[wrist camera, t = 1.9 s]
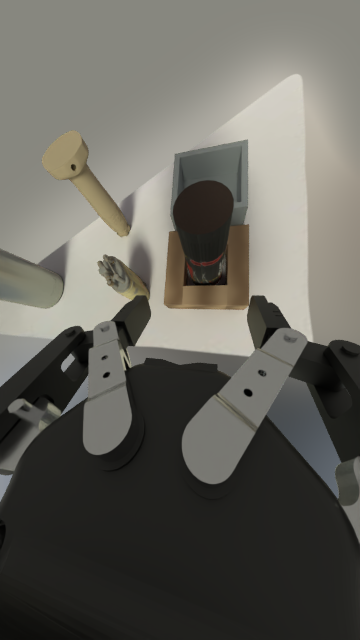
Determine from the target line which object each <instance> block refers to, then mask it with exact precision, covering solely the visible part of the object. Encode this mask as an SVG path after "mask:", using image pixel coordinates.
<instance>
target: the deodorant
mask: <svg viewBox="0 0 360 640" xmlns="http://www.w3.org/2000/svg"><path fill="white" fill-rule="evenodd" d="M233 208H234V198H233V195H232V192H231V191H230V190H229V188H228V187H227V186H225V185H224V184H222V183H220V182H217V181H213V180H204V181H199V182H196V183H194V184H191V185H190V186H188V187H187V188H185V189H184V190H183V191H182V192H181V193H180V194H179V196H178V197H177V199H176V200H175V203H174V206H173V218H174V222H175V225H176V228H177V232H178V235H179V238H180V242H181V245H182V249H183V252H184V255H185V259H186V262H187V265H188V269H189V272H190V275H191V279H192V281H193V283H194V284H195V285H196V286H213V285H216V284H217V283H218V282H219V281H220V279H221V275H222V270H223V264H224V259H225V253H226V247H227V242H228V236H229V230H230V225H231V219H232V213H233Z"/></svg>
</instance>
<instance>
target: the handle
mask: <svg viewBox="0 0 360 640" xmlns="http://www.w3.org/2000/svg"><path fill="white" fill-rule="evenodd" d="M87 158H88V147H87V145H86V144H85V142H84V141H83V139H82V137H81V136H80V134H79V133H78V132H76V131H69V132H67V133H65V134H63V135H61V136H60V137H59V138H58V139H56V140H55V141H54V142H53V143H52V144H51V145H50V146H49V148H48V149H47V151H46V152H45V154H44V156H43V157H42V164H43V166H44V168H45V169H46V170H47V171H48V172H49V173H50V174H51V175H52V176H53V177H54V178H55V179H58V180H65V179H69V180H70V181H71V182H72V183H73V184H74V185H75V186H76V187H77V188H78V190H79V191H80V192H81V193H82V195H83V196H84V197H85V198H86V200H87V201H88V202H89V203H90V205H91V206H92V207H93V208H94V210H95V211H96V212H97V213H98V215H99V216H100V217H101V218H102V220H103V221H104V222H105V223H106V224H107V225H108V226H109V227H110V228H111V229H113V230H114V231H115V232H117V234H118V235H119V236H120V237H122V236H127V235H128V232H129V231H130V227H129V225H128V224H127V222H126V219H125V217H124V216H123V214H122V212H121V210H120V209H119V207H118V206H117V204H116V203H115V202H114V200H113V199H112V198H111V197H110V195H109V194H108V193H107V191H106V190H105V189H104V188H103V186H102V185H101V184H100V182H99V181H98V180H97V178H96V177H95V176H94V174H93V173H92V172H91V170H90V169H89V167H88V165H87V164H86V162H87Z"/></svg>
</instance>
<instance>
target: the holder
mask: <svg viewBox="0 0 360 640" xmlns="http://www.w3.org/2000/svg"><path fill="white" fill-rule="evenodd" d="M225 255H226V281H225V285H213V286H187V272H188V265H187V262H186V259H185V255H184V252H183V249H182V245H181V242H180V238H179V235H178V232H177V231H172V232H169V242H168V255H167V268H166V282H165V295H164V305H166V306H167V307H168V308H176V309H235V310H244V309H245V308H246V307H247V306H248V305H249V224H248V225H237V226H230V230H229V236H228V242H227V247H226V253H225Z"/></svg>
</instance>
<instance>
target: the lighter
mask: <svg viewBox="0 0 360 640" xmlns="http://www.w3.org/2000/svg"><path fill="white" fill-rule="evenodd" d="M103 259H104V260H103V262H102V261H98V262H97V263H98V266H99V268H100V269H99V273H100V274H101V275H102V276H104V277H105V279H106V280H107V284H108V285H109V286H112V288H113V289H114V290H116V292H118V293H119V294H121V295H123V296H125V297H127V298H129V299H131V300H133V299H134V297H135V296H136V295H146V296H147V298H148V300H149V297H150V294H149V292H148V290H147V288H146V284H145V283H144V282H142V280H141V279H140V277H139V276H137V275H136V274H135V273H134V272H133V271H131V270H130V269H129V268H128V267H127V266H126V265H125V264H124V263H123V262H121V261H120V260H119V259H117V258H115V257H113V256H107V255H104V256H103Z"/></svg>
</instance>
